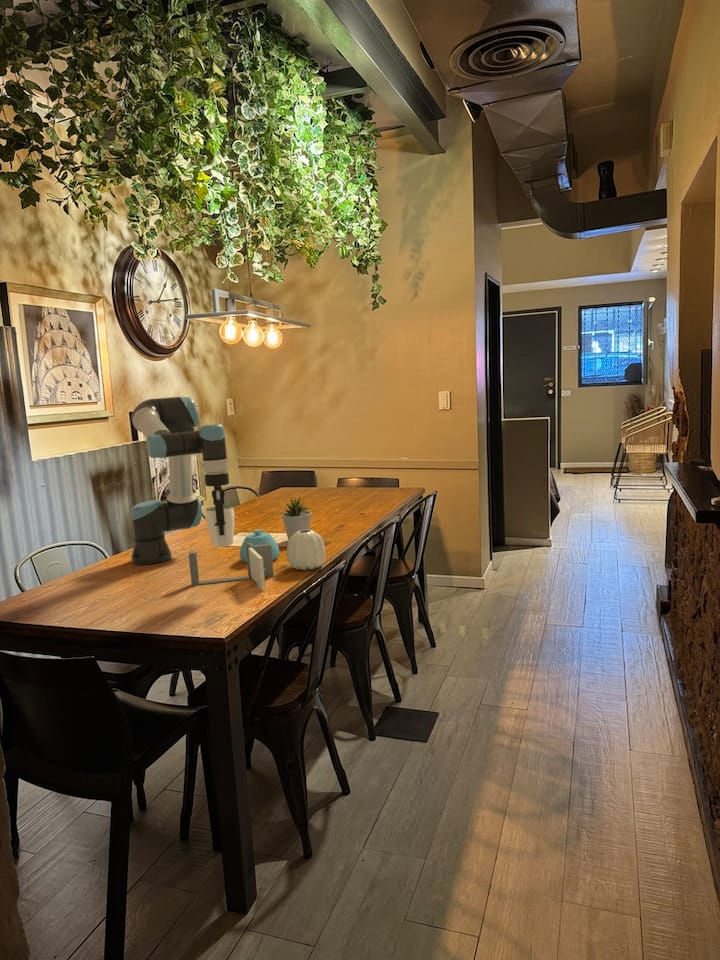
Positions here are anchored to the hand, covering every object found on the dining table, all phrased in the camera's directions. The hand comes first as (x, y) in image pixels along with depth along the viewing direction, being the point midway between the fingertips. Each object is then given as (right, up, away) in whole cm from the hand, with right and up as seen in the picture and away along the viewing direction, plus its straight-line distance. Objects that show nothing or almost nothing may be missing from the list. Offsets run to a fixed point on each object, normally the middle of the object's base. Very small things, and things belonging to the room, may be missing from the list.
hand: (222, 541), depth 209 cm
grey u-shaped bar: (+1, -14, +13) cm, 19 cm away
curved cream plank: (+11, -14, +5) cm, 19 cm away
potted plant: (+18, -6, +66) cm, 68 cm away
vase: (+26, -12, +23) cm, 36 cm away
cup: (0, -1, 0) cm, 1 cm away
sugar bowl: (+6, -11, +38) cm, 40 cm away
